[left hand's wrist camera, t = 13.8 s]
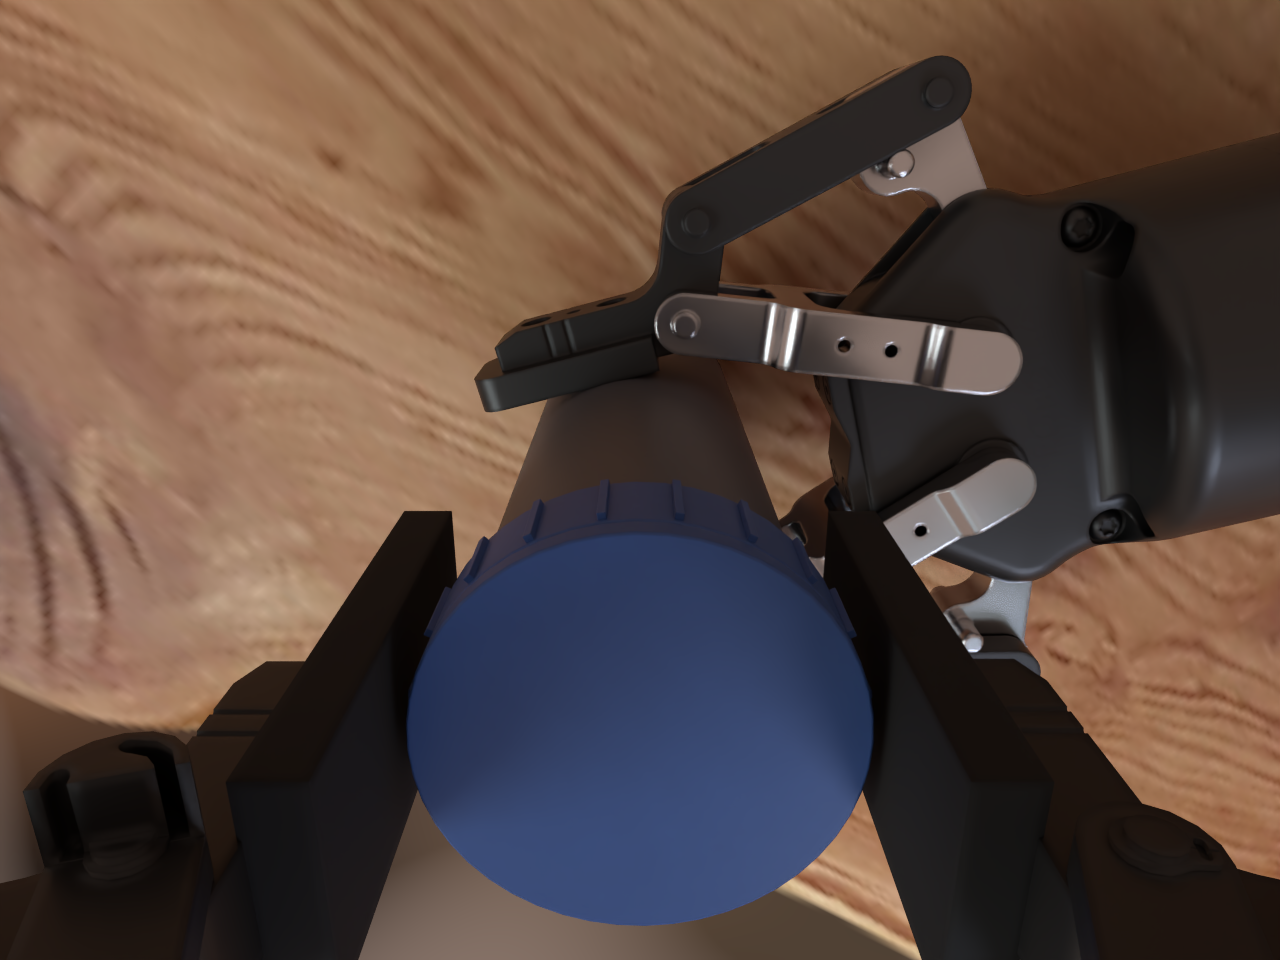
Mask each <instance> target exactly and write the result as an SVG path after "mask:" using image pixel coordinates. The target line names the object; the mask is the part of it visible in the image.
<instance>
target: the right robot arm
mask: <svg viewBox="0 0 1280 960" xmlns="http://www.w3.org/2000/svg"><path fill="white" fill-rule="evenodd" d="M971 92H972V84H971V78H970V76H969V73H968V71H967V70H966V68H965V67H964V66H963V64H962V63H960V62H959V61H958V60H956V59H954V58H952V57H949V56H934V57H931V58H928V59H925V60H922V61H919V62H916V63H913V64H910V65H907V66H904V67H901V68H898V69H895V70H892V71H890V72H888V73H886V74H884V75H883V76H881V77H879V78H877V79H875V80H873V81H872V82H870V83H868V84H866V85H864V86H862V87H861V88H859V89H857V90H855V91H853V92H851V93H850V94H848V95H846V96H844V97H842V98H841V99H839V100H837V101H835V102H833V103H831V104H830V105H828V106H826V107H824V108H822V109H820V110H819V111H817V112H815V113H813V114H811V115H809V116H808V117H806V118H804V119H802V120H800V121H799V122H797V123H795V124H793V125H791V126H789V127H788V128H786V129H784V130H782V131H780V132H778V133H777V134H775V135H773V136H771V137H769V138H767V139H766V140H764V141H762V142H760V143H758V144H757V145H755V146H753V147H751V148H749V149H747V150H746V151H744V152H742V153H740V154H738V155H736V156H735V157H733V158H731V159H729V160H727V161H725V162H724V163H722V164H720V165H718V166H716V167H715V168H713V169H711V170H709V171H707V172H705V173H704V174H702V175H700V176H698V177H696V178H694V179H693V180H691V181H689V182H687V183H685V184H683V185H682V186H680V187H678V188H676V189H675V190H673V191H672V192H671V193H670V194H669V195H668V197H667V198H666V200H665V202H664V204H663V207H662V222H661V232H660V242H659V252H658V260H657V265H656V268H655V271H654V273H653V275H652V276H651V278H650V279H649V281H648V282H647V283H646V284H645V285H643V286H642V287H641V288H639V289H637V290H635V291H632V292H630V293H626V294H622V295H618V296H614V297H611V298H607V299H603V300H599V301H595V302H591V303H588V304H584V305H580V306H576V307H572V308H570V309H565V310H561V311H557V312H553V313H550V314H545V315H541V316H538V317H534V318H530V319H526V320H524V321H522V322H521V323H520V324H518V325H517V326H516V327H514V328H513V329H512V330H510V331H509V332H508V333H506V334H505V335H504V336H503V338H502V339H501V340H500V342H499V343H498V344H497V346H496V347H495V351H496V354H497V357H498V358H496V359H494V360H492V361H489V362H488V363H486V364H485V365H484V366H483V367H482V369H481V370H480V372H479V373H478V374H477V376H476V377H475V382H476V385H477V388H478V392H479V395H480V398H481V401H482V404H483V407H484V410H485V411H486V412H497V411H502V410H506V409H510V408H514V407H518V406H522V405H526V404H530V403H534V402H538V401H542V400H546V399H550V398H554V397H558V396H562V395H566V394H570V393H574V392H578V391H582V390H586V389H590V388H594V387H598V386H601V385H604V384H608V383H612V382H616V381H621V380H625V379H629V378H633V377H637V376H641V375H645V374H649V373H653V372H657V371H660V368H659V357H662V356H666V355H670V354H678V355H684V356H694V357H703V358H713V359H722V360H732V361H741V362H750V363H759V364H765V365H769V366H772V367H774V368H777V369H780V370H784V371H789V372H794V373H803V374H813V377H814V382H815V387H816V389H817V391H818V393H819V395H820V397H821V399H822V401H823V403H824V405H825V407H826V409H827V411H828V413H829V414H830V417H831V427H830V439H829V451H828V453H829V458H830V463H831V468H832V474H833V477H831V478H829V479H828V480H826V481H825V482H823V483H821V484H820V485H818V486H817V487H815V488H813V489H812V490H810V491H809V492H807V493H806V494H804V495H803V496H801V497H800V498H799V499H798V500H797V501H796V502H795V503H794V505H793V507H792V509H791V511H790V512H789V513H788V514H787V515H786V516H784V517H783V518H781V519H780V520H778V521H779V523H780V526H781V529H782V531H783V533H785V534H786V535H787V536H788V537H790V538H791V539H792V540H794V539H795V538H796V537H798V538H799V539H800V540H801V541H802V543H803V545H804V548H805V550H806V553H807V555H808V557H809V559H810V560H811V562H812V563H813V564H814V566H815V567H816V569H817V570H818V572H819V573H820V574H821V576H822V577H823V572H824V559H825V546H826V534H827V521H828V511H876V513H877V514H878V516H879V517H880V519H881V520H882V522H883V523H884V525H885V526H886V528H887V529H888V531H889V532H890V534H891V535H892V537H893V538H894V540H895V541H896V543H897V544H898V546H899V547H900V549H901V550H902V552H903V553H904V555H905V556H906V558H907V559H908V561H909V562H910V564H911V566H912V567H913V566H915V565H916V564H918V563H920V562H921V561H923V560H925V559H926V558H928V557H930V556H933V557H936V558H939V559H942V560H944V561H947V562H950V563H952V564H955V565H958V566H960V567H963V568H966V569H968V570H971V571H974V572H973V574H972V575H971V576H970V577H969V578H968V579H967V580H965V581H964V582H962V583H960V584H957V585H953V586H947V587H945V586H937V587H935V588H933V589H932V590H931V592H930V594H931V596H932V597H933V599H934V600H935V602H936V603H937V605H938V606H939V608H940V609H941V611H942V612H943V614H944V615H945V617H946V618H947V620H948V622H949V623H950V625H951V626H952V628H953V629H954V631H955V632H956V634H957V635H958V637H959V638H960V640H961V641H962V643H963V644H964V646H965V647H966V649H967V650H968V652H969V653H970V655H971V656H972V658H973V659H1015V660H1017V661H1018V662H1020V663H1021V664H1023V665H1024V666H1026V667H1027V668H1029V669H1030V670H1032V671H1033V672H1035V673H1036V674H1038V675H1039V676H1040V673H1041V671H1040V665H1039V663H1038V661H1037V660H1036V659H1035V658H1034V656H1033V655H1032V654H1031V652H1030V651H1029V650H1028V649H1027V646H1026V644H1025V642H1024V636H1025V629H1026V622H1027V615H1028V608H1029V601H1030V594H1031V587H1032V581H1033V580H1037V579H1039V578H1042V577H1044V576H1046V575H1047V574H1049V573H1051V572H1052V571H1054V570H1055V569H1056V568H1058V567H1059V566H1060V565H1061V564H1063V563H1064V562H1065V561H1067V560H1068V559H1070V558H1071V557H1073V556H1075V555H1076V554H1078V553H1080V552H1082V551H1084V550H1086V549H1088V548H1091V547H1093V546H1097V545H1102V544H1110V543H1125V542H1146V541H1159V540H1166V539H1172V538H1177V537H1181V536H1185V535H1190V534H1194V533H1199V532H1203V531H1207V530H1212V529H1216V528H1221V527H1225V526H1229V525H1234V524H1238V523H1243V522H1247V521H1252V520H1256V519H1260V518H1265V517H1269V516H1274V515H1278V514H1280V133H1276V134H1272V135H1269V136H1265V137H1261V138H1258V139H1254V140H1250V141H1246V142H1242V143H1238V144H1235V145H1231V146H1226V147H1223V148H1219V149H1215V150H1211V151H1207V152H1203V153H1200V154H1196V155H1192V156H1188V157H1184V158H1180V159H1177V160H1173V161H1169V162H1165V163H1161V164H1157V165H1154V166H1150V167H1146V168H1142V169H1138V170H1134V171H1131V172H1127V173H1123V174H1119V175H1115V176H1111V177H1108V178H1104V179H1100V180H1096V181H1092V182H1089V183H1085V184H1081V185H1077V186H1073V187H1069V188H1066V189H1062V190H1058V191H1054V192H1050V193H1045V194H1040V195H1031V196H1024V195H1020V194H1017V193H1014V192H1011V191H1007V190H1003V189H989V188H987V187H986V185H985V182H984V179H983V177H982V174H981V171H980V168H979V166H978V163H977V160H976V158H975V155H974V152H973V150H972V147H971V144H970V142H969V139H968V136H967V134H966V131H965V128H964V125H963V123H962V120H961V116H962V115H963V113H964V112H965V110H966V109H967V106H968V104H969V102H970V98H971ZM850 178H852V180H853V182H854V183H855V185H856V186H857V187H858V188H860V189H861V190H863V191H864V192H867V193H870V194H876V195H881V196H894V195H898V194H901V193H904V192H907V191H914V192H915V193H917V194H919V195H920V196H921V197H922V198H923V200H924V201H925V202H926V204H927V206H928V207H927V208H926V209H925V210H924V211H923V212H922V214H921V215H920V216H919V217H918V218H917V219H916V220H915V221H914V223H913V224H912V225H911V226H910V227H909V228H908V229H907V230H906V231H905V233H904V234H903V235H902V236H901V237H900V238H899V239H898V240H897V241H896V243H895V244H894V245H893V246H892V247H891V248H890V249H889V250H888V251H887V253H886V254H885V255H884V256H883V257H882V258H881V259H880V260H879V261H878V263H877V264H876V265H875V266H874V267H873V268H872V269H871V270H870V271H869V273H868V274H867V275H866V276H865V277H864V278H863V279H862V280H861V281H860V283H859V284H858V285H857V286H856V287H855V288H854V289H853V290H852V291H851V292H842V291H832V290H823V289H814V288H805V287H796V286H787V285H777V284H765V285H752V284H743V283H734V282H724V281H720V273H721V265H722V257H723V249H724V245H725V244H727V243H729V242H731V241H733V240H735V239H737V238H739V237H740V236H742V235H744V234H746V233H748V232H750V231H752V230H754V229H756V228H757V227H759V226H761V225H763V224H765V223H767V222H769V221H771V220H773V219H774V218H776V217H778V216H780V215H782V214H784V213H786V212H788V211H789V210H791V209H793V208H795V207H797V206H799V205H801V204H803V203H805V202H806V201H808V200H810V199H812V198H814V197H816V196H818V195H820V194H821V193H823V192H825V191H827V190H829V189H831V188H833V187H835V186H837V185H838V184H840V183H842V182H844V181H846V180H848V179H850Z"/></svg>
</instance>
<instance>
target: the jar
mask: <svg viewBox="0 0 1280 960" xmlns="http://www.w3.org/2000/svg"><path fill="white" fill-rule="evenodd" d="M659 368H660V371H657V372H653V373H649V374H645V375H641V376H637V377H633V378H629V379H625V380H621V381H616V382H612V383H608V384H604V385H601V386H598V387H594V388H590V389H586V390H582V391H578V392H574V393H570V394H566V395H562V396H558V397H554V398H550V399H548V400H547V403H546V405H545V408H544V411H543V413H542V416H541V418H540V421H539V424H538V426H537V429H536V432H535V434H534V437H533V440H532V442H531V445H530V447H529V450H528V453H527V455H526V458H525V461H524V463H523V466H522V469H521V471H520V474H519V477H518V479H517V482H516V484H515V487H514V490H513V492H512V495H511V498H510V500H509V503H508V506H507V508H506V511H505V513H504V516H503V519H502V521H501V524H500V527H499V529H498V531H499V530H500V529H501V528H502V527H504V526H505V525H507V524H508V523H510V522H511V521H513V520H514V519H516V518H517V517H519V516H520V515H522V514H523V513H524V512H526V511H528V510H530V509H531V508H532V505H533V502H534V501H536V500H538V499H541V500H542V502H543V503H544V502H546V501H548V500H550V499H553V498H556V497H559V496H562V495H565V494H568V493H571V492H573V491H576V490H580V489H585V488H590V487H595V486H599V485H600V481H601V480H606V479H609V483H610V484H613V483H625V482H655V483H668V484H672V480H673V479H674V480H680V481H681V486H686V487H692V488H696V489H699V490H703V491H706V492H709V493H713V494H716V495H720V496H722V497H724V498H727V499H729V500H731V501H733V502H736V503H739V501H740V500H741V499H742V500H744V501H746V502H748V505H749V508H750V510H752V511H753V512H755V513H757V514H758V515H760V516H762V517H763V518H765V519H767V520H768V521H770V522H771V523H772V524H774V525H775V526H776V527H777V528H778V529H780V530H781V531H782V529H781V526H780V523H779V521H778V518H777V515H776V513H775V510H774V507H773V505H772V502H771V499H770V497H769V494H768V491H767V489H766V486H765V483H764V481H763V478H762V475H761V473H760V470H759V467H758V465H757V462H756V460H755V457H754V454H753V452H752V449H751V446H750V444H749V441H748V438H747V436H746V433H745V430H744V428H743V425H742V422H741V420H740V417H739V414H738V412H737V409H736V406H735V404H734V401H733V398H732V396H731V393H730V390H729V388H728V385H727V383H726V380H725V377H724V375H723V372H722V369H721V367H720V365H719V363H718V361H717V359H713V358H703V357H694V356H684V355H678V354H670V355H666V356H662V357H659ZM782 532H783V531H782Z"/></svg>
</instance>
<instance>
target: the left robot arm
mask: <svg viewBox="0 0 1280 960" xmlns="http://www.w3.org/2000/svg"><path fill="white" fill-rule="evenodd" d="M823 579H824V581H825V583H826V585H827V587H828V589H829V590H830V589H832V588H836V590H837V592H838V595H839V597H840V599H841V601H842V603H843V606H844V608H845V610H846V612H847V615H848V617H849V619H850V621H851V623H852V626H853V628H854V630H855V632H856V635H857V636H856V637H854V638H851V640H852V642H853V645H854V647H855V650H856V652H857V654H858V656H859V658H860V661H861V663H862V666H863V669H864V672H865V675H866V678H867V681H868V683H869V685H870V688H871V690H872V698H871V699H872V706H873V712H874V743H873V750H872V756H871V762H870V768H869V771H868V774H867V777H866V780H865V783H864V787H863V793H864V796H865V799H866V802H867V804H868V807H869V810H870V813H871V816H872V819H873V822H874V824H875V827H876V830H877V833H878V836H879V839H880V842H881V844H882V847H883V850H884V853H885V856H886V859H887V862H888V864H889V867H890V870H891V873H892V876H893V879H894V882H895V884H896V887H897V890H898V893H899V896H900V899H901V902H902V904H903V907H904V910H905V913H906V916H907V919H908V922H909V924H910V927H911V930H912V933H913V936H914V939H915V942H916V944H917V947H918V950H919V953H920V956H921V959H922V960H1280V880H1279V879H1275V878H1270V877H1266V876H1261V875H1257V874H1253V873H1250V872H1247V871H1243V870H1240V869H1237V868H1236V866H1235V864H1234V863H1233V861H1232V860H1231V858H1230V857H1229V855H1228V854H1227V852H1226V851H1225V850H1224V848H1223V847H1222V845H1221V844H1219V843H1218V842H1217V841H1216V840H1215V839H1213V838H1212V837H1211V836H1210V835H1208V834H1207V833H1206V832H1205V831H1203V830H1202V829H1201V828H1200V827H1198V826H1197V825H1195V824H1193V823H1191V822H1189V821H1187V820H1185V819H1183V818H1181V817H1179V816H1177V815H1175V814H1173V813H1171V812H1169V811H1166V810H1162V809H1159V808H1155V807H1152V806H1149V805H1145V804H1142V803H1141V802H1140V800H1139V799H1138V798H1137V796H1136V795H1135V794H1134V792H1133V791H1132V790H1131V789H1130V787H1129V786H1128V785H1127V783H1126V782H1125V781H1124V780H1123V778H1122V777H1121V776H1120V774H1119V773H1118V772H1117V771H1116V769H1115V768H1114V767H1113V765H1112V764H1111V763H1110V761H1109V760H1108V759H1107V758H1106V756H1105V755H1104V754H1103V752H1102V751H1101V750H1100V749H1099V747H1098V746H1097V745H1096V743H1095V742H1094V741H1093V740H1092V738H1091V737H1090V736H1089V734H1088V733H1084V731H1083V727H1082V725H1081V724H1080V723H1079V721H1078V720H1077V719H1076V718H1075V716H1074V715H1073V714H1072V712H1068V711H1067V706H1066V705H1065V703H1064V702H1063V701H1062V699H1061V698H1060V697H1059V696H1058V694H1057V693H1056V692H1055V690H1054V689H1053V688H1052V687H1051V685H1050V684H1049V683H1048V681H1047V680H1045V679H1044V678H1042V677H1041V676H1039V675H1038V674H1036V673H1035V672H1033V671H1032V670H1030V669H1029V668H1027V667H1026V666H1024V665H1023V664H1021V663H1020V662H1018V661H1017V660H1015V659H973V658H972V656H971V655H970V653H969V652H968V650H967V649H966V647H965V646H964V644H963V643H962V641H961V640H960V638H959V637H958V635H957V634H956V632H955V631H954V629H953V628H952V626H951V625H950V623H949V622H948V620H947V618H946V617H945V615H944V614H943V612H942V611H941V609H940V608H939V606H938V605H937V603H936V602H935V600H934V599H933V597H932V596H931V594H930V593H929V591H928V590H927V588H926V587H925V585H924V584H923V582H922V581H921V579H920V578H919V576H918V575H917V573H916V572H915V570H914V569H913V567H912V566H911V564H910V562H909V561H908V559H907V558H906V556H905V555H904V553H903V552H902V550H901V549H900V547H899V546H898V544H897V543H896V541H895V540H894V538H893V537H892V535H891V534H890V532H889V531H888V529H887V528H886V526H885V525H884V523H883V522H882V520H881V519H880V517H879V516H878V514H877V513H876V511H828V521H827V534H826V546H825V559H824V572H823ZM456 580H457V572H456V560H455V547H454V534H453V521H452V511H404V513H403V514H402V516H401V517H400V519H399V520H398V522H397V523H396V525H395V526H394V528H393V529H392V531H391V532H390V534H389V535H388V537H387V538H386V540H385V541H384V543H383V544H382V546H381V547H380V549H379V550H378V552H377V553H376V555H375V556H374V558H373V559H372V561H371V562H370V564H369V565H368V567H367V569H366V570H365V572H364V573H363V575H362V576H361V578H360V579H359V581H358V582H357V584H356V585H355V587H354V588H353V590H352V591H351V593H350V594H349V596H348V597H347V599H346V600H345V602H344V603H343V605H342V606H341V608H340V609H339V611H338V612H337V614H336V615H335V617H334V618H333V620H332V621H331V623H330V625H329V626H328V628H327V629H326V631H325V632H324V634H323V635H322V637H321V638H320V640H319V641H318V643H317V644H316V646H315V647H314V649H313V650H312V652H311V653H310V655H309V656H308V658H307V659H306V661H266V662H265V663H263V664H262V665H260V666H259V667H257V668H256V669H254V670H253V671H251V672H250V673H249V674H247V675H246V676H244V677H243V678H241V679H240V680H238V681H237V682H235V683H234V684H233V685H232V686H231V687H230V689H229V690H228V691H227V693H226V694H225V695H224V697H223V698H222V699H221V700H220V702H219V703H218V704H217V706H216V707H215V708H214V713H213V715H209V716H208V717H207V719H206V720H205V721H204V723H203V724H202V725H201V727H200V728H199V729H198V730H197V736H196V737H192V738H191V740H190V741H189V742H188V743H187V745H185V744H184V743H183V742H181V741H180V740H179V739H178V738H177V737H175V736H172V735H168V734H163V733H158V732H153V731H151V732H136V733H124V734H120V735H116V736H112V737H108V738H104V739H100V740H96V741H93V742H91V743H88V744H86V745H84V746H82V747H79V748H77V749H75V750H73V751H70V752H68V753H66V754H64V755H62V756H61V757H59V758H58V759H57V760H55V761H54V762H52V763H51V764H49V765H48V766H46V767H45V768H44V769H42V770H41V771H39V772H38V773H37V774H36V776H35V777H34V778H33V779H32V781H31V782H30V783H29V784H28V786H27V787H26V788H25V789H24V791H23V794H24V797H25V801H26V804H27V808H28V811H29V815H30V818H31V821H32V825H33V828H34V832H35V835H36V839H37V842H38V846H39V849H40V853H41V856H42V859H43V863H44V866H45V867H44V869H43V872H42V873H40V874H36V875H33V876H30V877H26V878H22V879H18V880H13V881H9V882H5V883H0V960H358V958H359V956H360V953H361V950H362V947H363V944H364V941H365V939H366V936H367V933H368V930H369V927H370V924H371V922H372V919H373V916H374V913H375V910H376V907H377V904H378V901H379V899H380V896H381V893H382V890H383V887H384V884H385V882H386V879H387V876H388V873H389V870H390V867H391V864H392V862H393V859H394V856H395V853H396V850H397V847H398V844H399V842H400V839H401V836H402V833H403V830H404V827H405V824H406V821H407V819H408V816H409V813H410V810H411V807H412V804H413V802H414V799H415V796H416V793H417V790H418V788H417V785H416V783H415V780H414V778H413V774H412V770H411V765H410V760H409V755H408V751H407V736H406V717H407V707H408V698H409V697H408V690H409V687H410V685H411V683H412V680H413V678H414V675H415V672H416V669H417V667H418V665H419V662H420V660H421V658H422V655H423V653H424V651H425V649H426V646H427V644H428V642H429V639H430V638H429V637H427V636H425V635H424V633H425V631H426V628H427V626H428V624H429V622H430V620H431V617H432V615H433V613H434V611H435V608H436V606H437V604H438V602H439V600H440V597H441V595H442V593H443V591H444V589H445V587H448V588H450V589H452V587H453V585H454V583H455V582H456Z"/></svg>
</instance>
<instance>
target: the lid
mask: <svg viewBox="0 0 1280 960" xmlns="http://www.w3.org/2000/svg"><path fill="white" fill-rule="evenodd" d="M424 635H425V636H427V637H429V638H430V639H429V642H428V644H427V646H426V649H425V651H424V653H423V655H422V658H421V660H420V662H419V665H418V667H417V669H416V672H415V675H414V678H413V680H412V683H411V685H410V687H409V690H408V697H409V698H408V707H407V717H406V736H407V751H408V755H409V760H410V765H411V770H412V774H413V778H414V780H415V783H416V785H417V788H418V791H419V793H420V796H421V799H422V801H423V803H424V805H425V807H426V808H427V810H428V812H429V814H430V815H431V817H432V819H433V821H434V823H435V824H436V826H437V827H438V828H439V830H440V831H441V832H442V834H443V835H444V836H445V838H446V839H447V840H448V842H449V843H450V844H451V845H452V846H453V847H454V848H455V849H456V850H457V851H458V852H459V853H460V854H461V855H462V857H463V858H464V859H465V860H466V861H467V862H468V863H470V864H471V865H472V866H473V867H475V868H476V869H477V870H478V871H479V872H481V873H482V874H483V875H485V876H486V877H487V878H488V879H489V880H491V881H493V882H494V883H496V884H497V885H499V886H501V887H502V888H504V889H505V890H507V891H509V892H510V893H512V894H514V895H516V896H518V897H520V898H522V899H524V900H526V901H528V902H531V903H533V904H535V905H537V906H540V907H542V908H545V909H548V910H551V911H554V912H557V913H559V914H562V915H566V916H570V917H575V918H579V919H583V920H587V921H593V922H600V923H608V924H615V925H639V926H648V925H662V924H675V923H680V922H686V921H692V920H698V919H703V918H706V917H710V916H713V915H717V914H721V913H724V912H727V911H730V910H733V909H735V908H738V907H740V906H743V905H745V904H747V903H750V902H753V901H754V900H757V899H758V898H760V897H762V896H764V895H766V894H768V893H770V892H772V891H773V890H775V889H777V888H779V887H780V886H782V885H783V884H784V883H786V882H787V881H789V880H790V879H792V878H793V877H795V876H796V875H798V874H799V873H800V872H801V871H802V870H804V869H805V868H806V867H807V866H808V865H809V864H810V863H811V862H813V861H814V860H815V859H816V858H817V857H818V856H819V855H820V854H821V853H822V852H823V851H824V850H825V849H826V847H827V846H828V845H829V844H830V843H831V842H832V841H833V839H834V838H835V837H836V836H837V834H838V833H839V831H840V830H841V829H842V827H843V826H844V824H845V823H846V821H847V820H848V818H849V817H850V815H851V813H852V811H853V809H854V807H855V805H856V803H857V801H858V799H859V797H860V795H861V793H862V790H863V787H864V783H865V780H866V777H867V774H868V771H869V768H870V762H871V756H872V750H873V743H874V712H873V706H872V699H871V698H872V690H871V688H870V685H869V683H868V681H867V678H866V675H865V672H864V669H863V666H862V663H861V661H860V658H859V656H858V654H857V652H856V650H855V647H854V645H853V642H852V640H851V638H854V637H856V636H857V635H856V632H855V630H854V628H853V626H852V623H851V621H850V619H849V617H848V615H847V612H846V610H845V608H844V606H843V603H842V601H841V599H840V597H839V595H838V592H837V590H836V588H832V589H830V590H829V589H828V587H827V585H826V583H825V581H824V579H823V577H822V576H821V574H820V573H819V572H818V570H817V569H816V567H815V566H814V564H813V563H812V562H811V560H810V559H809V557H808V555H807V553H806V550H805V548H804V545H803V543H802V541H801V540H800V539H799V538H798V537H796V538H795V539H794V540H792V539H791V538H790V537H788V536H787V535H786V534H785V533H783V532H782V531H781V530H780V529H778V528H777V527H776V526H775V525H774V524H772V523H771V522H770V521H768V520H767V519H765V518H763V517H762V516H760V515H758V514H757V513H755V512H753V511H752V510H750V508H749V505H748V502H746V501H744V500H742V499H741V500H740V501H739V503H736V502H733V501H731V500H729V499H727V498H724V497H722V496H720V495H716V494H713V493H709V492H706V491H703V490H699V489H696V488H692V487H686V486H681V481H680V480H674V479H673V480H672V484H668V483H655V482H625V483H613V484H610V483H609V479H606V480H601V481H600V485H599V486H595V487H590V488H585V489H580V490H576V491H573V492H571V493H568V494H565V495H562V496H559V497H556V498H553V499H550V500H548V501H546V502H544V503H543V502H542V500H541V499H538V500H536V501H534V502H533V505H532V508H531V509H530V510H528V511H526V512H524V513H523V514H522V515H520V516H519V517H517V518H516V519H514V520H513V521H511V522H510V523H508V524H507V525H505V526H504V527H502V528H501V529H500V530H499V531H498V532H497V533H496V534H494V535H493V536H492V537H491V538H490V539H489V540H488V539H487V538H486V537H485V536H484V537H483V538H482V539H481V540H479V542H478V545H477V547H476V549H475V552H474V554H473V557H472V558H471V559H470V561H469V562H468V563H467V564H466V566H465V567H464V569H463V570H462V572H461V574H460V575H459V577H458V578H457V580H456V582H455V583H454V585H453V587H452V589H450V588H448V587H445V589H444V591H443V593H442V595H441V597H440V600H439V602H438V604H437V606H436V608H435V611H434V613H433V615H432V617H431V620H430V622H429V624H428V626H427V628H426V631H425V633H424Z"/></svg>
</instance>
